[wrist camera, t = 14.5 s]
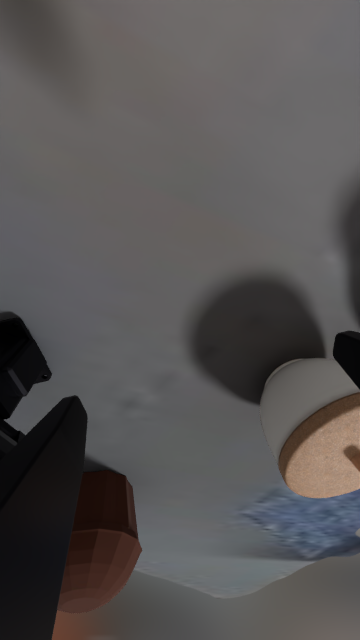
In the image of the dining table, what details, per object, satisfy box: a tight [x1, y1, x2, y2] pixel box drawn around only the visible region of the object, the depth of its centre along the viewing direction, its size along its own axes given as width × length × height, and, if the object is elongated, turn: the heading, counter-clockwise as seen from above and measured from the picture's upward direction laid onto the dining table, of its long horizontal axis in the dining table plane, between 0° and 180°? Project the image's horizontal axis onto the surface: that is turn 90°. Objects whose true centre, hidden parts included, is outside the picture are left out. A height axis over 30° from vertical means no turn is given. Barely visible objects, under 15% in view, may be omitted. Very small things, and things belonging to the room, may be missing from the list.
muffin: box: [57, 470, 142, 613], centre depth 26 cm, size 12×11×10 cm
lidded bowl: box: [260, 358, 360, 498], centre depth 22 cm, size 13×13×11 cm
